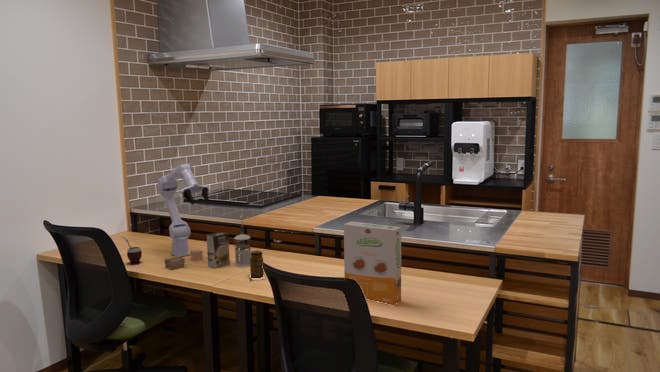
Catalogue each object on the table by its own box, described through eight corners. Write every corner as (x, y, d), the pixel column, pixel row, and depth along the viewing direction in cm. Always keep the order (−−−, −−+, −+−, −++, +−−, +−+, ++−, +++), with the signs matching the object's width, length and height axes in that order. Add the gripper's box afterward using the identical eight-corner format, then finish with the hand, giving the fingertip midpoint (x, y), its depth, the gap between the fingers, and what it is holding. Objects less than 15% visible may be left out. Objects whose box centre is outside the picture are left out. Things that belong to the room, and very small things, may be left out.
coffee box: (215, 268, 252) (214, 236, 250) (207, 266, 256) (205, 234, 254) (230, 264, 259) (228, 233, 257) (222, 262, 263) (220, 231, 261)
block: (191, 259, 269) (190, 250, 268) (199, 258, 271) (198, 248, 271) (194, 261, 265) (194, 252, 264) (202, 259, 268) (202, 250, 267)
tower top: (164, 263, 255) (164, 258, 255) (177, 260, 260) (177, 255, 260) (172, 266, 250) (171, 261, 250) (184, 263, 256) (184, 258, 255)
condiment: (263, 274, 242) (262, 249, 240) (266, 279, 234) (265, 254, 232) (248, 275, 240) (247, 250, 239) (250, 281, 232) (249, 255, 230)
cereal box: (401, 301, 204) (401, 227, 200) (394, 306, 199) (393, 230, 195) (352, 291, 217) (351, 221, 212) (344, 295, 211) (343, 224, 207)
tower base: (165, 268, 256) (165, 263, 256) (178, 265, 261) (178, 260, 260) (170, 271, 251) (170, 266, 251) (184, 268, 255) (184, 263, 255)
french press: (239, 268, 252) (237, 218, 248) (228, 263, 261) (225, 215, 257) (257, 264, 258) (255, 215, 254) (245, 259, 267) (243, 212, 263)
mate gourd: (145, 262, 266) (143, 233, 264) (133, 266, 259) (131, 237, 256) (134, 260, 269) (132, 232, 267) (122, 264, 262) (120, 236, 260)
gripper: (178, 178, 252) (188, 198, 246) (206, 175, 261) (216, 195, 255) (175, 188, 257) (185, 208, 250) (202, 185, 266) (212, 204, 259)
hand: (200, 202), depth 253 cm, fingers open, 7 cm apart
